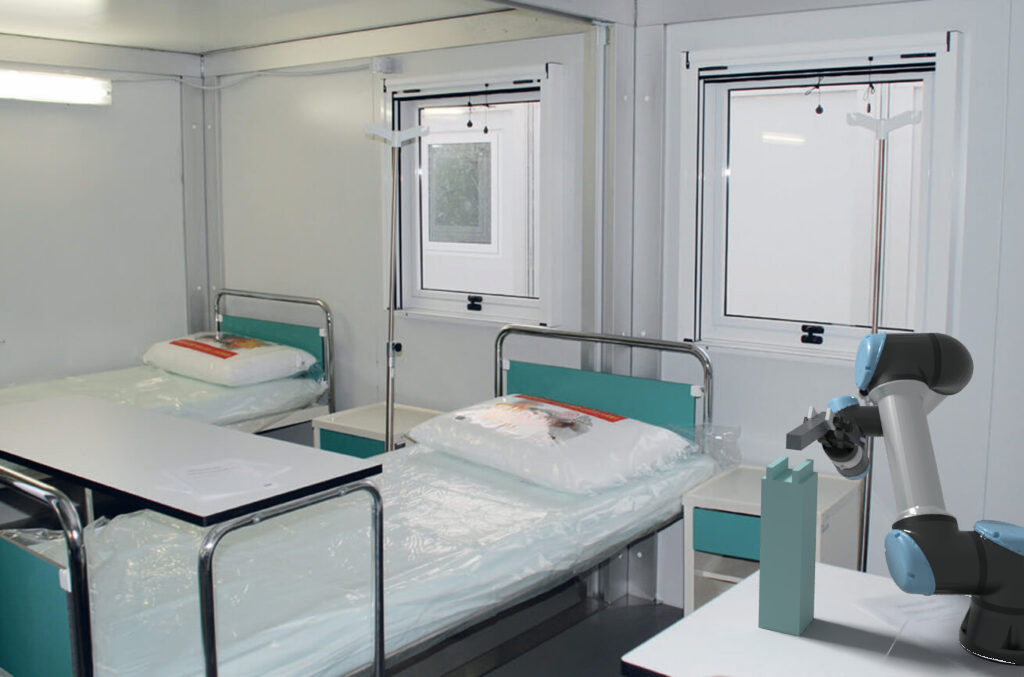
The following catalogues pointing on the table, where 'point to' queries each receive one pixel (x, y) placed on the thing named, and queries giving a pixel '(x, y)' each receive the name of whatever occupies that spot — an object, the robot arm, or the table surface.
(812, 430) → the steel bar
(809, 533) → the notched post
